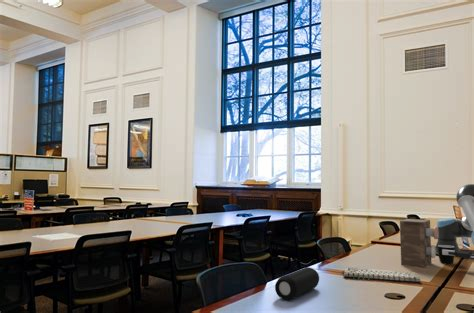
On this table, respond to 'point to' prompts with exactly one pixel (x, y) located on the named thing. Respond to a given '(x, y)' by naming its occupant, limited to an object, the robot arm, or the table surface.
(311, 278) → the portable speaker
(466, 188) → the robot arm
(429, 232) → the terracotta key
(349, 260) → the table surface
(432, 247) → the white rounded piece
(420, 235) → the key console
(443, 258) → the mug
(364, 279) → the mechanical keyboard
